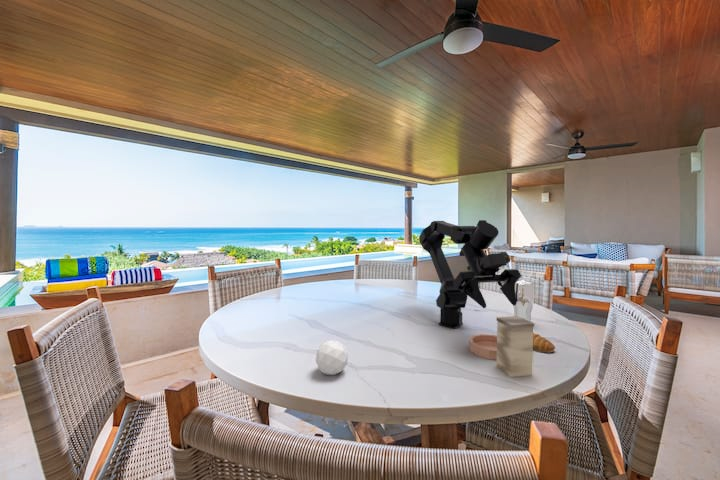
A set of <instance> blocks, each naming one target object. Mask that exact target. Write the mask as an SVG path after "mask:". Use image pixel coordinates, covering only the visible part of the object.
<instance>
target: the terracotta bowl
mask: <svg viewBox="0 0 720 480" xmlns="http://www.w3.org/2000/svg"><path fill="white" fill-rule="evenodd" d="M468 348H469V350H470V352H471V353H473V354H474V355H475V356H477V357H481V358H483V359H488V360H496V361H497V334H496V335H495V334H488V333H487V334H486V333H482V334H481V333H479V334H475V335H474V334H473V335H472V336H470V337H469V338H468Z"/></svg>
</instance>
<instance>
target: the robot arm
mask: <svg viewBox="0 0 720 480" xmlns="http://www.w3.org/2000/svg"><path fill="white" fill-rule="evenodd" d="M446 236H447V237H449V238H450V240H451V241H452V243H454V244H456V245H462V244H463V246H462V247H460V248H461V249H460V251H459V256H460V257H464V258H465V260H466V263H467V264H468V266H467V267H466V269H467V270H468V271H459V273H458V275H457V276H456V277H455V276H454V274H453V272H452V270H451V267H450V265H449V263H448V260H447V258H446V256H445V253H444V251H443V248H442V246H443V243H444V239H445V238H446ZM498 236H499V230H498V228H497V227H495V225H493V224H492V223H489V222H487V219H486V220H485V219H482V220H481V219H479V220H478V222H477V224H476V226H475V225H456V224H453V223H450V222H446V221H445V220H433V221H431V223H430V224H429V225H428V226H427V227H425V228H424V229H422V231H421V233H420V234H419V238H418V239H419V243H420V245H421V247H422V249H423V250H424V251H426V252H427V253H428V254H429V256H430V259H431V260H432V263H433V266H434V268H435V269H434V270H435V272H436V274H437V276H438V279H439V283H440V288H439V295H438V297H437V298H436V300H435V302H436V307H438V308H440V309H439V310H440V313H439V315H440V316H439V317H440V321H439V322H438V323H437V324H438V325H439V326H444V327H448V328H451V329H457V328H458V327H460V326H462V325H463V324H464V323H463V312H462V309H465V308H466V304H467V301H468V297H469V298H471V299H472V300H473V301H475V302H476V303H477V304H478V305H479V306H480V307H481V308H483V309H486V308H487V302H486V300H485V298H484V296H483V294H482V291H481V289H480V287H479V284H480V283H481V284H482V283H483V284H484V283H497V285H498V286H499V290H500V291H501V293H502V294H503V295H504V296H505V298H506V299H507V300H508V302H510V304H511V305H512V307H513V306H515V305H516V304H517V303H516V295H515V283H516V282H517V281H520V278H522V274H521V272H520V271H519V269H516V268H508V269H504V270H503V271H502V272H501V273H500V274H497V273H498V272H499V271H500V270H501V269H500V268H501V267H504V266H507V265H508V264H509V263H511V257H510V255H509V254H508V252H507V251H500V252H498V253H489V254H486V253H485V251H484V250H487V249H489V248H490V246H491V245H492V243H493V242H494V241H495V240H496V239H497V237H498ZM454 277H455V278H454Z"/></svg>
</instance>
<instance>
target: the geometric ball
mask: <svg viewBox="0 0 720 480" xmlns="http://www.w3.org/2000/svg"><path fill="white" fill-rule="evenodd" d="M348 358H349V354H348V351H347V348H346V346H345V345H344V344H342V343H341V342H340V341H337V340H333V339H332V340H331V339H330V340H328V341H326V342H324V343H322V344H320V346H319V348H318V349H317V350H316V354H315V362H316V364H317V368H318V369H319V370H320V371H321V373H323V374H324V375H328V376H335V375H338V374H339V373H341V372H343V370H344V369H345V368H346V367H347V365H348Z"/></svg>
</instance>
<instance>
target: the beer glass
mask: <svg viewBox="0 0 720 480" xmlns="http://www.w3.org/2000/svg"><path fill="white" fill-rule="evenodd" d="M515 295H516V303H517V304H516V305H515V306H513V305H512V308H513V316H519V317H521V318H523V319H525V320H528V321H530V322H532V311H533V308H534V303H535V302H534V301H535V283H534V282H533V281H528V280H518V281H517V282H516V283H515ZM532 323H533V322H532Z"/></svg>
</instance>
